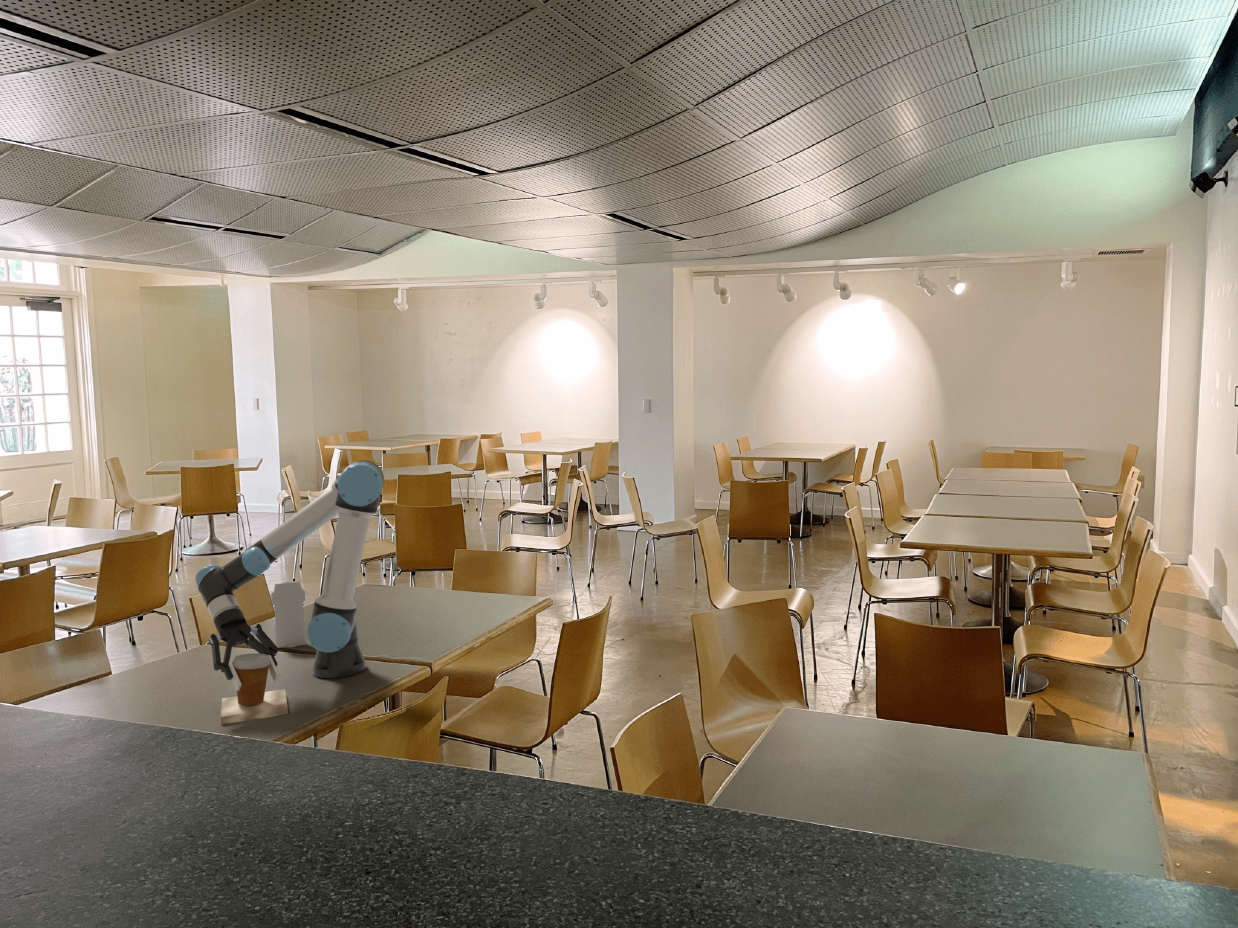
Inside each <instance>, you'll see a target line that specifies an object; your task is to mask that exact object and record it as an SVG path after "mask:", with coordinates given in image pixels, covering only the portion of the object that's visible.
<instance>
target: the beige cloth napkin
mask: <svg viewBox="0 0 1238 928" xmlns="http://www.w3.org/2000/svg"><path fill="white" fill-rule="evenodd" d="M220 707H221V708H220V710H221V711H220V723H221V726H222V725H227V724H233V723H241V722H247V721H253V720H259V719H266V718H273V717H278V716H284V715H289V712H288V709H289V708H288V701H287V694H286V689H285V688H283V689H277V690H270V691H265V694H264V701H263V702H262V703H260V704H257V705H240V704H238V698H237V695H236V696H235V695H234V696H231V697H230V696H229V697H224V698H223V697H222V698H221V706H220Z"/></svg>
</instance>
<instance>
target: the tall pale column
mask: <svg viewBox="0 0 1238 928" xmlns="http://www.w3.org/2000/svg"><path fill="white" fill-rule="evenodd" d="M270 599H271V604H272V605H273V609H274V610H273V611H274V619H275V620H274V621H275V624H274V639H275V645H276V646H277V647H278V649H284V648H296V647H300V646H302V647H303V646H307V645H308V636H307V623H306V621H305V610H304V609H305V608H304V606H305V604H304V603H305V601H306V590H305V589H303V587H302V586H301V583H300V581H293V580H285V581H282V582H278V583H274V588H273V592H271V593H270Z"/></svg>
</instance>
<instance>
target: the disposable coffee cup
mask: <svg viewBox="0 0 1238 928" xmlns="http://www.w3.org/2000/svg"><path fill="white" fill-rule="evenodd" d="M270 662H271V660H270V659H269V655H266V654H260V653H258V652H257V653H256V652H255V653H245V654H244V653H243V654H240V655H236V656H234V658H233V660H232V663H231V665H232V664H233V667H234V669H235V671H236V673H237V675H238V678H239V680H240V682H241V684H242V685H241V687H240V689H239V691H236V696H237V698H238V704H240V705H257V704H260V703H262V702H263V701H264V694H265V692H266V687H267V681H268V680H267V679H268V674H269V669H268V667H269V664H270Z"/></svg>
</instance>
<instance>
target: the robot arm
mask: <svg viewBox="0 0 1238 928" xmlns="http://www.w3.org/2000/svg"><path fill="white" fill-rule="evenodd" d="M331 484H332V485H331V487H330V488H329V489H327V490H326V491H325V492H323V493H322V494H321V495H319V496H317V497H316V498H315V499H313V501H311V502H310V503H308V504H307V505H305V506H304V507H302V508H301V509H300V510H299V511H297V512H296V513H295V514H293V515H292V516H290V517H289V518H287V520H285V521H284V522H283V523H281V524H279V525H278V526H277V527H276V528H274V529H273V530H271V531H270V532H269V533H267V534H266V535H264V536H263V537H262V538H260V539H259V540H258V541H256V542H255V543H254V544H253V545H250V546H248V547H247V548H246V549H245V550H244V551H243V552H242V553H240V554H239V555H238V556H236V557H235V558H233V559H232V560H231V561H229V562H227V563H226V564H225V565H222V566H220V565H218V564H209V565H208V566H204V567H202V568H200V569H199V570H198V571H197V572H196V574H195V577H194V579H195V583H196V585H197V589H198V592H199V594H200V595H201V597H202V599H203V602H204V604H205V606H206V609H207V611H208V612H209V615H210V617H211V620H212V621H213V624H214V627H215V628H216V631H217V632H218V633H217V634H215V633H212V634H210V636H209V639H208V642H209V644H210V646H211V651H212V660H213V661H212V662H213V663H212V664H213V670H214V671H216V672H217V671H220V672H221V673H223V674H224V675H225V678H226V679H227V681H230V680H231V683H232V685H233V687H234V690H235V692H237V691H239V689H240V687H241V685H242V684H241V682H240V680H239V678H238V675H237V673H236V671H235V669H234V667H233V664H232V663H231V664H230V662H231V661H230V659H231V655H232V649H233V647H237V646H238V645H245V646H247V647H251V649H253V650H255V651H256V652H257V653H258V654H266V655H269V659H270V660H271V662H270V664H269V667H268V672H269V673H270V675H271V678H272V680H273V681H274V682H275V681H276V682H277V680H278V679H279V677H280V672H279V670H278V668H277V666H278V661H277V659H276V658H275V657H276V656H277V654H278V653H279V651H280V648H278V647H277V646H276V643H275V642H273V640H272V639H271V638H270V637H269V636H268V634H266V632H265V631H264V630H263V627H262V625H261V624H260V623H257V624H256V625H255V626H250V625H249V624H248V623H247V619H246V618H245V615H244V613H243V611H242V609H241V606H240V605H239V603H238V600H237V599H236V596H235V594H234V592H235V591H236V590H239V589H240V588H242V586H244V585H246V584H248V583H249V582H250V581H253V579H255V578H257V577H259V576H261V575H262V574H264V573H265V571H267V570H268V569H269V568H270V567H271V565H272V564H273V563H274V562H276V561H277V560H278V559H279V558H281V557H283V556H284V555H285V554H286V553H287V552H289V551H290V550H291V549H293V548H294V547H296V546H297V545H298V544H300V543H302V542H303V541H304V540H305V539H307V538H308V537H309V536H311V535H312V534H313V533H315V532H316V531H317V530H320V528H321V527H323V526H325V525H326V524H327V523H329V522H330V521H331V520H333V519H335V517H337V516H338V517H337V522H336V527H335V531H334V533H333V534H334V535H333V540H332V544H331V550H330V555H329V558H328V559H329V560H328V564H327V569H326V573H325V577H324V578H325V579H324V583H323V588H322V592H321V594H320V595H318V596H317V597H316V598H315V600H314V604H313V609H312V613H311V618H310V621H309V623H308V625H307V626H306V635H307V641H308V642H309V643H310V644H311V646H312V647H313V648H315V650H316V653H315V657H314V659H313V660H314V661H313V666H312V674H313V676H314V677H316V678H320V679H321V678H322V679H338V678H345V677H346V678H347V677H350V676H354V675H357V674H360V673H361V672H363V671H365V669H366V667H367V666H366V659H365V657H364V655H363V652H362V650H361V649H362V648H361V647H360V645H359V637H358V622H357V607H358V605H357V602H356V598H355V590H356V585H357V581H358V575H359V571H360V565H361V562H362V557H363V552H364V548H365V544H366V543H365V542H366V538H367V533H368V528H369V523H370V519H371V517H373V516H374V515H376V514H377V512H378V508H379V503H380V498H381V493H382V490H383V488H384V485H385V475H384V473H383V470H382V469H381V467H380V466H379V465H378V464H376V463H375V462H373V461H370V460H367V459H366V460H365V459H364V460H363V459H362V460H357V461H355V462H353V463H351V464H349V465H348V466H346V467H345V468H344V469H343V470H342V471H341V472H340V475H339V476H338V478H336V479H335V480H334V481H332V483H331ZM255 637H256V638H255ZM220 641H223V642H224V643H226V644H225V647H224V648H225V649H224V653H223V654H224V655H223V660H222V658H221V652H220V651H221V649H220Z"/></svg>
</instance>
